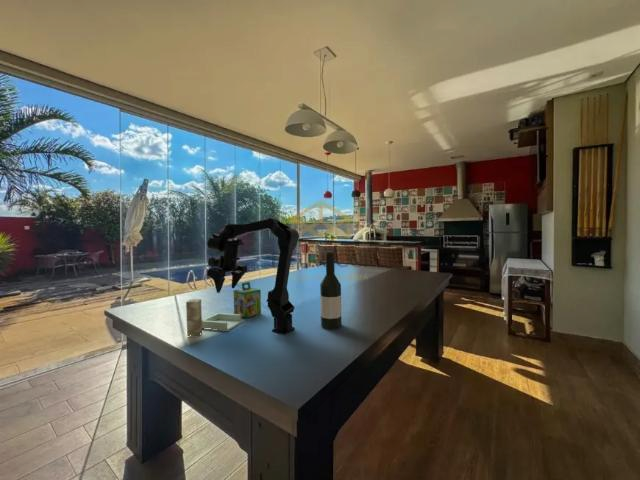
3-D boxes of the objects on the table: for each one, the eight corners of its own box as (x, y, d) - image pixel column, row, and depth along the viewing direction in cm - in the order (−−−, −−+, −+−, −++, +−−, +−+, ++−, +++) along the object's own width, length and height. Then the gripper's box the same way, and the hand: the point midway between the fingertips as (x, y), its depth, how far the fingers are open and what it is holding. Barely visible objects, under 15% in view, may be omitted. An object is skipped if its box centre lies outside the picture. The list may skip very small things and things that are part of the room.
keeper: (243, 321, 118) (243, 314, 118) (227, 331, 107) (227, 323, 107) (215, 319, 122) (215, 312, 122) (196, 328, 110) (196, 321, 110)
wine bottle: (340, 330, 106) (339, 252, 105) (318, 328, 108) (317, 252, 107) (342, 322, 114) (341, 250, 113) (323, 321, 116) (321, 250, 115)
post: (202, 332, 106) (201, 299, 105) (198, 336, 102) (197, 301, 101) (191, 333, 105) (190, 299, 105) (187, 337, 101) (186, 302, 101)
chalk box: (245, 318, 122) (245, 285, 122) (233, 315, 128) (232, 283, 127) (261, 313, 130) (261, 282, 129) (249, 310, 135) (248, 280, 135)
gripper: (229, 248, 126) (225, 281, 127) (198, 251, 108) (193, 290, 110) (250, 253, 122) (245, 287, 124) (221, 257, 105) (215, 297, 106)
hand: (225, 290), depth 116 cm, fingers open, 9 cm apart
